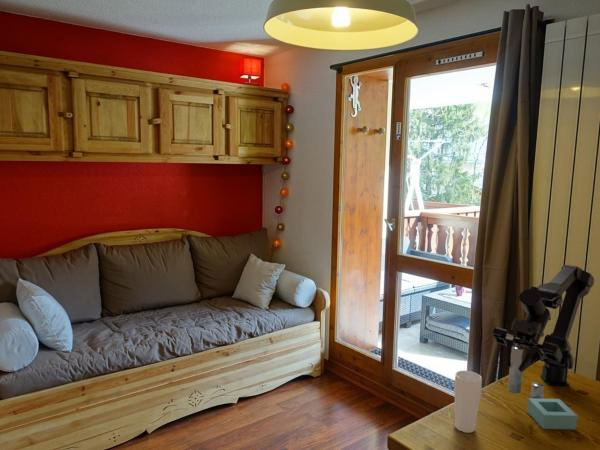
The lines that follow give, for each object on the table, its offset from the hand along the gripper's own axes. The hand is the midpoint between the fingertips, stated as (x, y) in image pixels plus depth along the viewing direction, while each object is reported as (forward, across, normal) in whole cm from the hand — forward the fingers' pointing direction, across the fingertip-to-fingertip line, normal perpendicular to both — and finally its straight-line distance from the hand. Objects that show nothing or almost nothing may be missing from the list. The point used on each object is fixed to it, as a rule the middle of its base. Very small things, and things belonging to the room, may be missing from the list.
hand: (514, 368), depth 135 cm
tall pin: (+4, 0, +6) cm, 7 cm away
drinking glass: (+22, -4, -4) cm, 23 cm away
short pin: (-1, +1, +19) cm, 19 cm away
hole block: (+6, +9, +13) cm, 17 cm away
